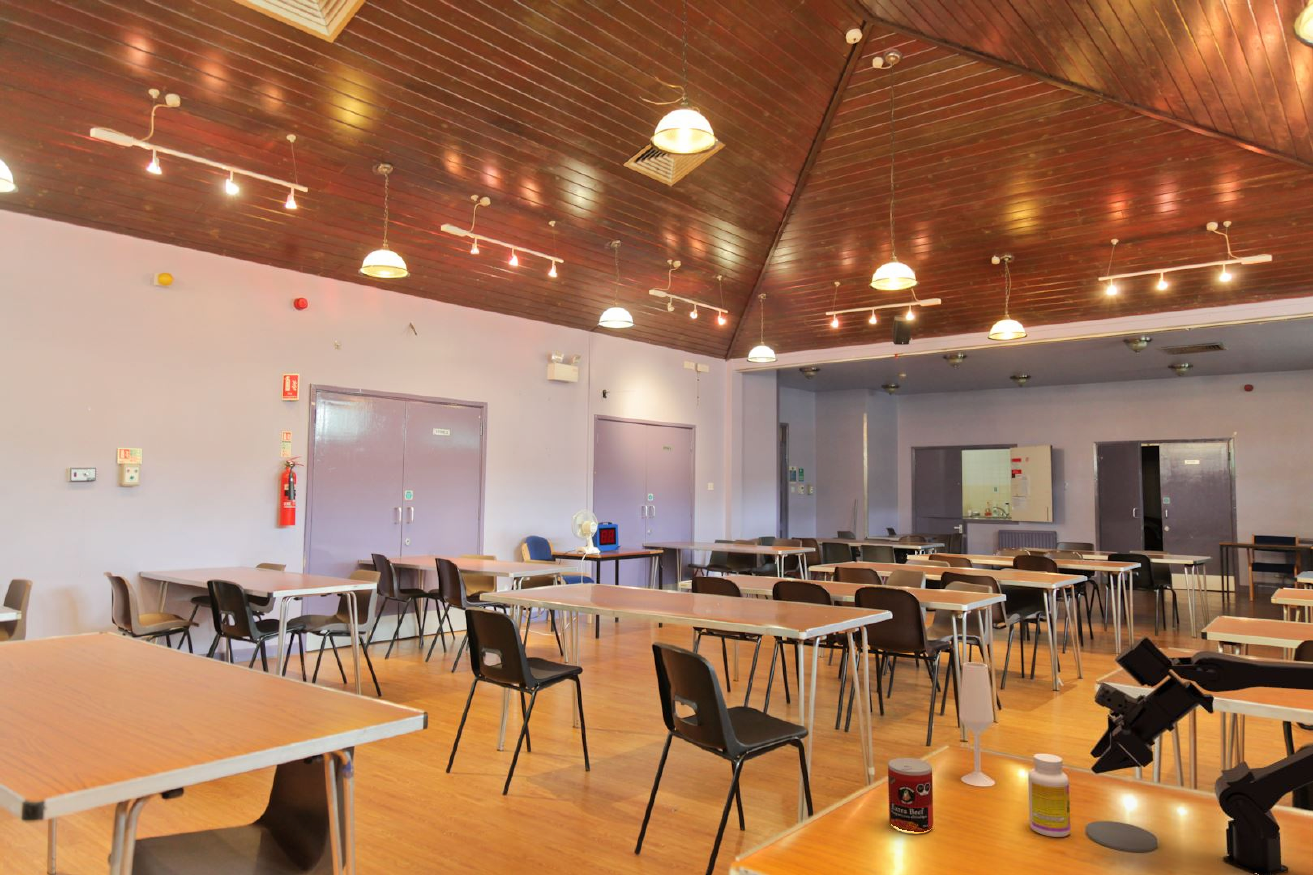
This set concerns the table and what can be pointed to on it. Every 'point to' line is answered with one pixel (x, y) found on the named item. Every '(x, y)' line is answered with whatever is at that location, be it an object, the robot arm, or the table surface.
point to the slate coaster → (1121, 836)
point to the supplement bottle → (1049, 797)
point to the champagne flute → (976, 714)
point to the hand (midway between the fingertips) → (1092, 763)
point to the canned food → (910, 794)
